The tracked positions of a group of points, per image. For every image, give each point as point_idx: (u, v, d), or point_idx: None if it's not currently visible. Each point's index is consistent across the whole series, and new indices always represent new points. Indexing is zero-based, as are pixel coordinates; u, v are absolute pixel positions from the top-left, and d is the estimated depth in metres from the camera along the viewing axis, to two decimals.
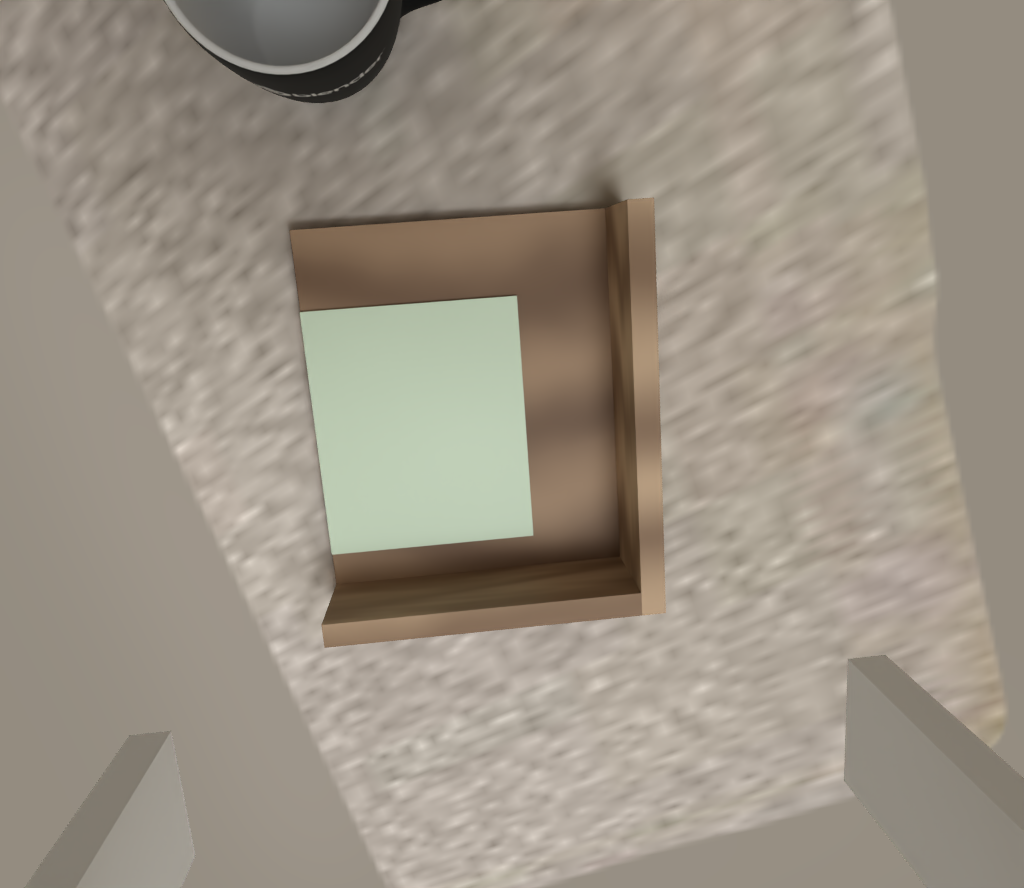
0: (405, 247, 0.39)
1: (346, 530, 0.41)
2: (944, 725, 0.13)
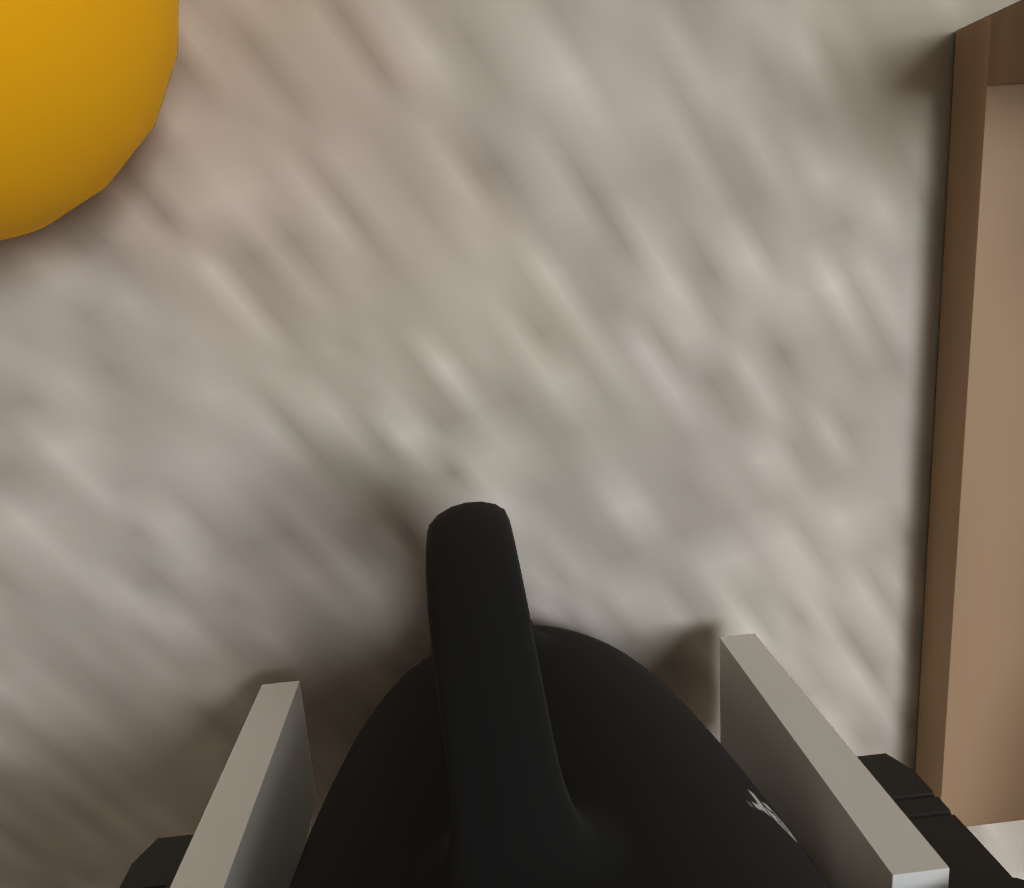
0: (1008, 598, 0.16)
1: None
2: (787, 694, 0.14)
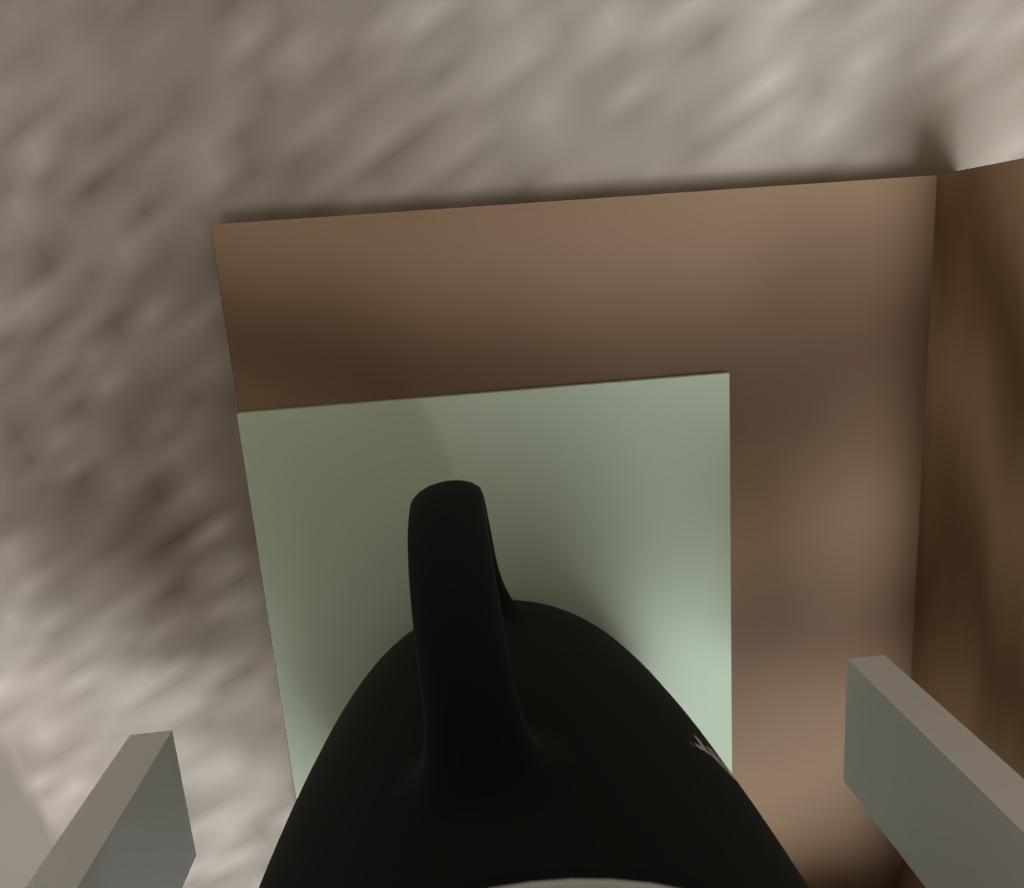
0: (481, 264, 0.17)
1: None
2: (943, 725, 0.13)
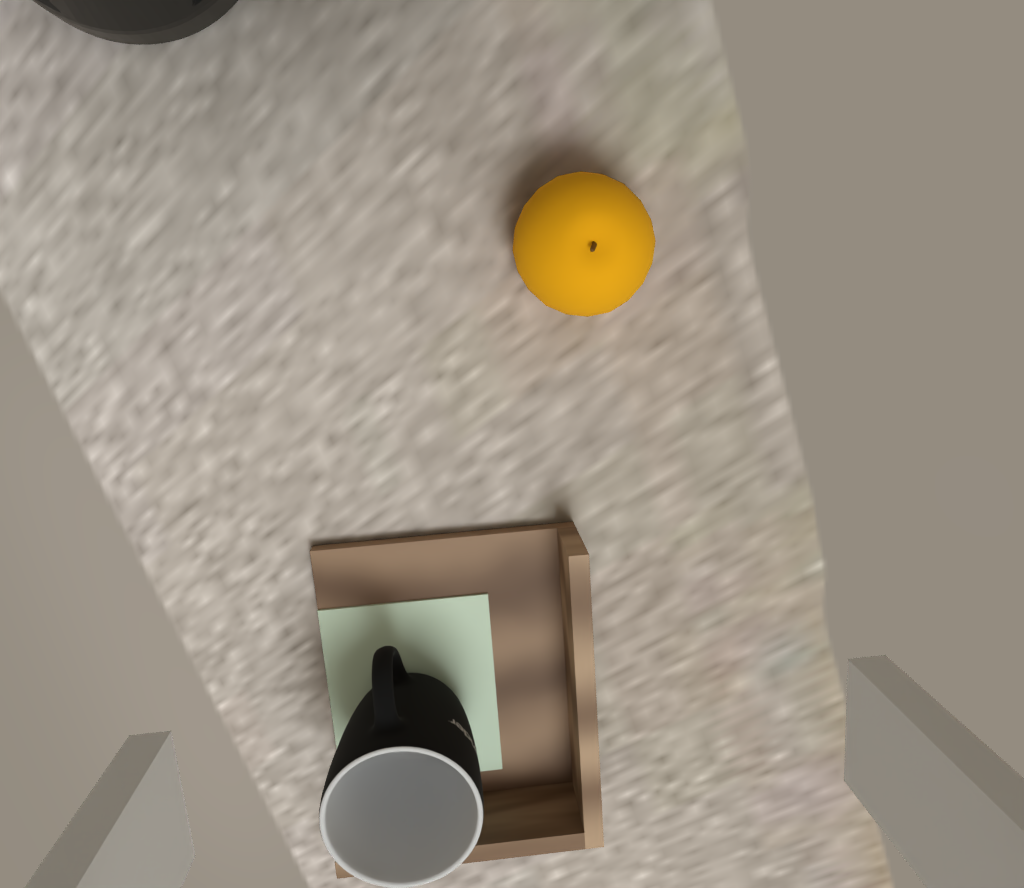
0: (400, 561, 0.49)
1: None
2: (944, 725, 0.13)
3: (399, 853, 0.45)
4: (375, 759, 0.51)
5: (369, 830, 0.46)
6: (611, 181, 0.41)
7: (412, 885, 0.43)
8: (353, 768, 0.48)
